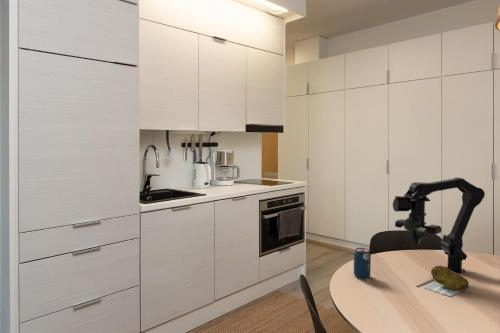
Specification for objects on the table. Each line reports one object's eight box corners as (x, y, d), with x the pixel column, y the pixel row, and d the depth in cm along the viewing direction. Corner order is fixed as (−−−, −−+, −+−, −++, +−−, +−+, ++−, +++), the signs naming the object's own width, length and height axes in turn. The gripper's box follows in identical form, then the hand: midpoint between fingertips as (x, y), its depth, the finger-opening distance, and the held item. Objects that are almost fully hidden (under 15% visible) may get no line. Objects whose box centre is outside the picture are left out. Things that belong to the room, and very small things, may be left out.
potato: (463, 295, 139) (464, 275, 138) (428, 285, 148) (428, 266, 147) (470, 289, 145) (471, 269, 144) (435, 280, 154) (436, 261, 153)
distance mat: (444, 279, 156) (444, 278, 156) (469, 286, 148) (469, 286, 148) (424, 288, 146) (424, 287, 146) (450, 296, 138) (450, 296, 138)
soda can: (372, 279, 155) (373, 252, 154) (356, 279, 156) (356, 252, 155) (367, 273, 162) (368, 247, 161) (351, 273, 162) (352, 247, 162)
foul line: (438, 276, 159) (438, 275, 159) (441, 277, 158) (441, 276, 158) (415, 286, 148) (415, 285, 148) (418, 287, 148) (418, 286, 148)
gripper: (388, 210, 166) (388, 244, 167) (430, 217, 151) (429, 253, 152) (401, 207, 173) (401, 239, 174) (442, 213, 158) (441, 248, 159)
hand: (417, 245), depth 165 cm, fingers closed
